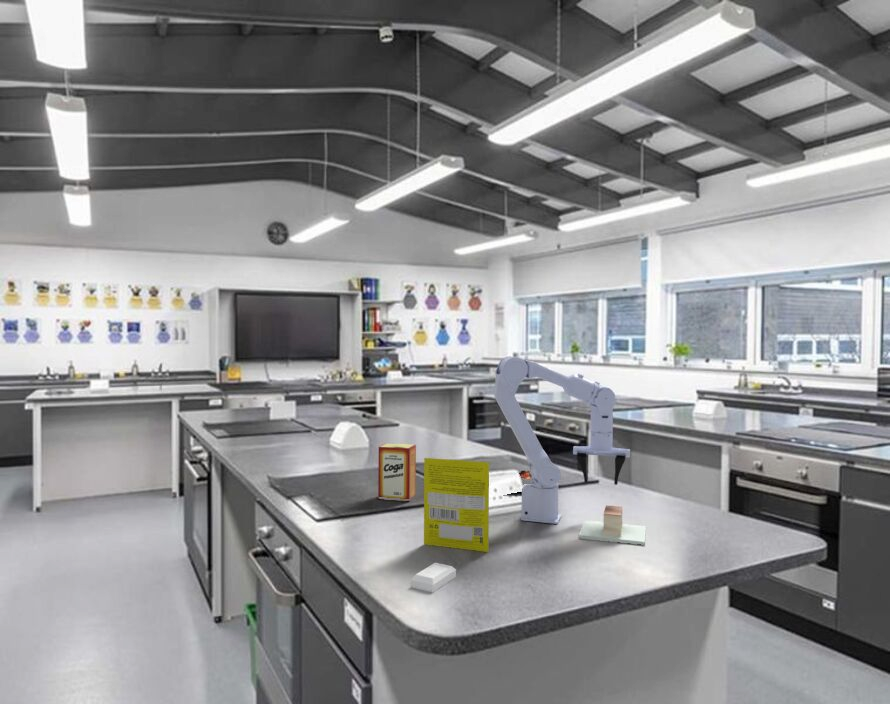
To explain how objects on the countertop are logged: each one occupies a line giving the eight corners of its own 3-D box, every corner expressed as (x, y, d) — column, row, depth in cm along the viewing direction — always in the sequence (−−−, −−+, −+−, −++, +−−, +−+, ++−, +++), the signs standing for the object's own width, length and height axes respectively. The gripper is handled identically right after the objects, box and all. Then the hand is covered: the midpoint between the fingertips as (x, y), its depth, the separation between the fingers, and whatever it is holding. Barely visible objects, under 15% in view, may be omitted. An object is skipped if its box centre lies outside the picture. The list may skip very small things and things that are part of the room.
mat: (578, 538, 149) (578, 535, 149) (584, 523, 161) (584, 520, 161) (644, 545, 144) (644, 541, 144) (645, 529, 156) (645, 526, 156)
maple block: (605, 525, 157) (605, 505, 157) (622, 526, 155) (622, 506, 155) (603, 534, 149) (603, 513, 149) (620, 536, 148) (621, 515, 148)
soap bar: (410, 589, 119) (410, 575, 119) (434, 573, 127) (434, 560, 126) (432, 594, 116) (433, 580, 116) (456, 578, 124) (456, 565, 124)
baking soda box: (378, 499, 184) (378, 445, 183) (385, 494, 190) (385, 442, 190) (409, 502, 181) (409, 447, 181) (415, 496, 188) (415, 443, 187)
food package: (489, 551, 139) (489, 462, 139) (487, 553, 138) (488, 462, 138) (424, 543, 144) (425, 457, 144) (423, 545, 143) (423, 458, 143)
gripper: (571, 432, 164) (571, 483, 164) (629, 435, 159) (628, 488, 160) (575, 428, 171) (574, 478, 171) (630, 431, 166) (629, 482, 166)
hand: (600, 482), depth 166 cm, fingers open, 7 cm apart
